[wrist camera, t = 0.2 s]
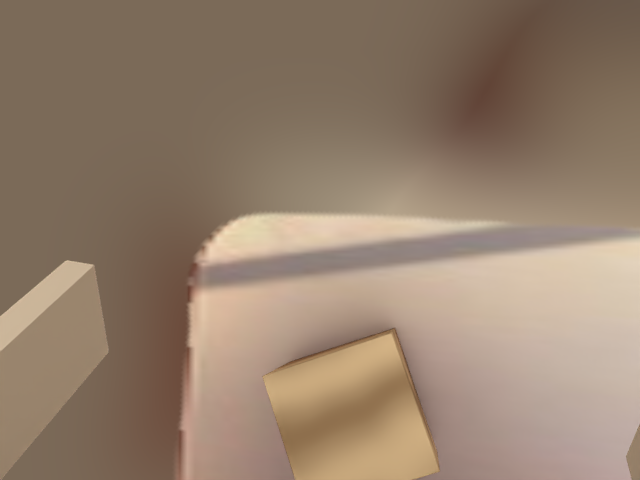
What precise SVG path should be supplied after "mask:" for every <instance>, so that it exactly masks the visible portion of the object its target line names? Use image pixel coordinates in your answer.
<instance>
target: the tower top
mask: <svg viewBox="0 0 640 480" xmlns="http://www.w3.org/2000/svg"><path fill="white" fill-rule="evenodd" d="M263 380H264V383H265V386H266V389H267V392H268V395H269V399H270V402H271V405H272V408H273V411H274V414H275V418H276V421H277V424H278V427H279V430H280V433H281V437H282V440H283V443H284V446H285V449H286V452H287V456H288V459H289V462H290V465H291V468H292V471H293V475H294V478H295V480H413V479H417V478H420V477H423V476H427V475H430V474H433V473H436V472H440V469H439V462H438V455H437V450H436V447H435V444H434V441H433V438H432V436H431V433H430V430H429V427H428V424H427V421H426V419H425V416H424V413H423V410H422V407H421V404H420V401H419V399H418V396H417V393H416V390H415V387H414V384H413V381H412V379H411V376H410V373H409V370H408V367H407V364H406V362H405V359H404V356H403V353H402V350H401V347H400V344H399V342H398V339H397V336H396V333H395V330H394V329H393V330H390V331H387V332H384V333H381V334H378V335H375V336H372V337H369V338H366V339H363V340H360V341H357V342H354V343H351V344H348V345H345V346H342V347H339V348H336V349H333V350H330V351H327V352H324V353H321V354H318V355H316V356H313V357H310V358H307V359H304V360H301V361H298V362H295V363H292V364H289V365H286V366H283V367H280V368H278V369H276V370H274V371H272V372H270V373H268V374H266V375H264V376H263Z"/></svg>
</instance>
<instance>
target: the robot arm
mask: <svg viewBox="0 0 640 480" xmlns="http://www.w3.org/2000/svg"><path fill="white" fill-rule="evenodd" d="M108 352H109V350H108V344H107V338H106V332H105V326H104V320H103V314H102V309H101V303H100V297H99V291H98V285H97V279H96V273H95V267H94V265H91V264H85V263H79V262H73V261H68V260H66V261H65V262H64V263H63V264H61V265H60V266H59V267H58V268H57V269H56V270H54V271H53V272H52V273H51V274H50V275H49V276H47V277H46V278H45V279H44V280H43V281H42V282H40V283H39V284H38V285H37V286H36V287H34V288H33V289H32V290H31V291H30V292H28V293H27V294H26V295H25V296H24V297H23V298H21V299H20V300H19V301H18V302H17V303H16V304H14V305H13V306H12V307H11V308H10V309H9V310H8V311H6V312H5V313H4V314H3V315H1V316H0V480H1V479H2V478H3V476H4V475H5V474H6V473H7V472H8V471H9V469H10V468H11V467H12V466H13V465H14V464H15V462H16V461H17V460H18V459H19V458H20V456H21V455H22V454H23V453H24V452H25V450H26V449H27V448H28V447H29V446H30V445H31V443H32V442H33V441H34V440H35V439H36V437H37V436H38V435H39V434H40V433H41V431H42V430H43V429H44V428H45V427H46V426H47V424H48V423H49V422H50V421H51V420H52V418H53V417H54V416H55V415H56V414H57V412H58V411H59V410H60V409H61V408H62V407H63V405H64V404H65V403H66V402H67V401H68V399H69V398H70V397H71V396H72V395H73V393H74V392H75V391H76V390H77V389H78V388H79V386H80V385H81V384H82V383H83V382H84V380H85V379H86V378H87V377H88V376H89V374H90V373H91V372H92V371H93V370H94V369H95V367H96V366H97V365H98V364H99V363H100V361H101V360H102V359H103V358H104V357H105V356H106V354H107V353H108ZM626 458H627V462H628V466H629V470H630V474H631V478H632V480H640V425H639V427H638V429H637V432H636V434H635V437H634V439H633V441H632V444H631V446H630V448H629V451H628V453H627V456H626Z"/></svg>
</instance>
